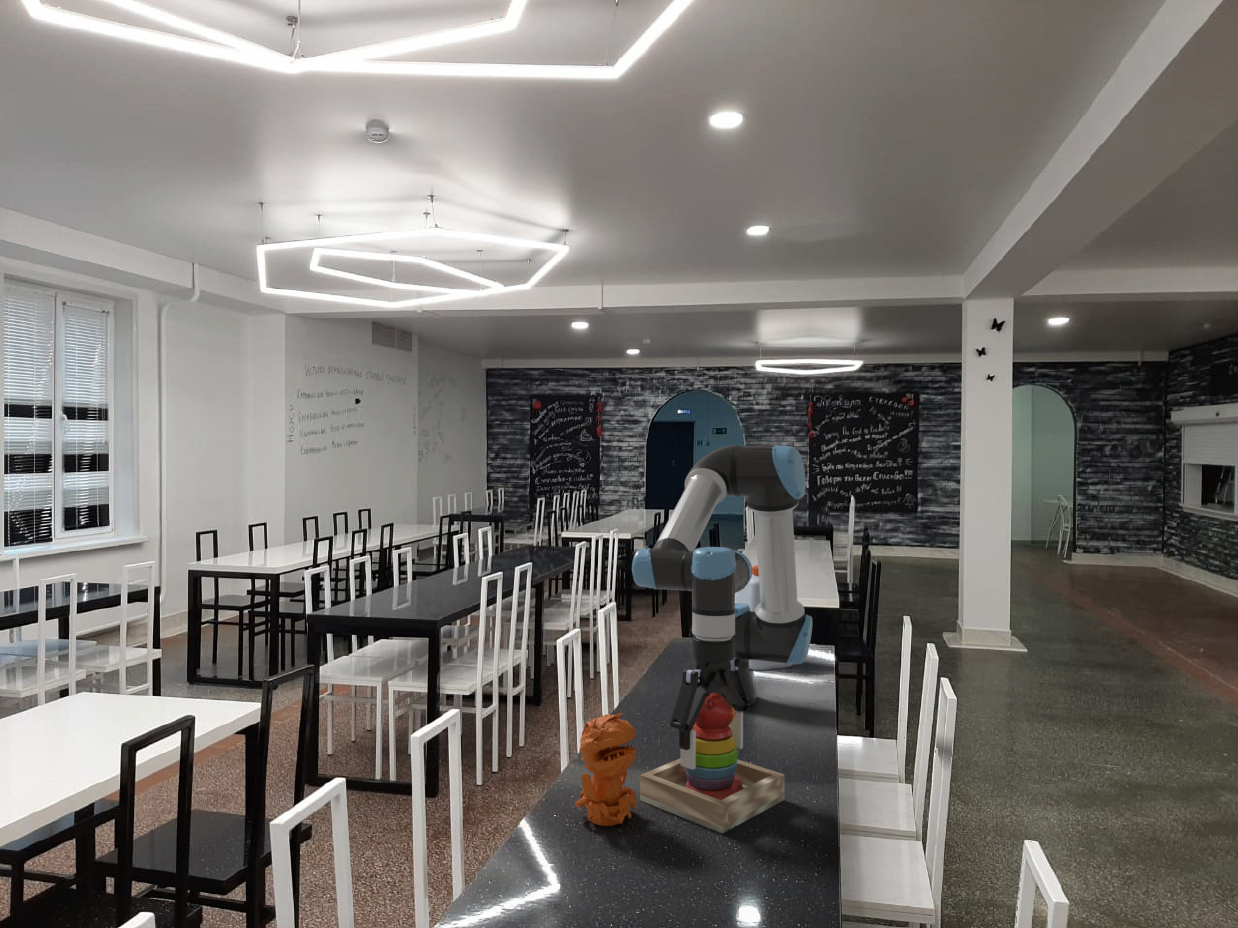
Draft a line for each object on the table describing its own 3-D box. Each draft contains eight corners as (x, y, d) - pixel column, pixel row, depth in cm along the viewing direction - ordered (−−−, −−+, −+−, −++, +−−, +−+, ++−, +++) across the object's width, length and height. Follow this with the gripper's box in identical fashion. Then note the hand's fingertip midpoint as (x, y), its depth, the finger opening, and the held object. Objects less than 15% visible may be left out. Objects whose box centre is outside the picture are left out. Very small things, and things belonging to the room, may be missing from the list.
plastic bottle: (753, 672, 230) (754, 571, 229) (725, 659, 244) (726, 564, 243) (799, 667, 236) (800, 568, 235) (769, 655, 250) (770, 561, 249)
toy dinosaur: (617, 839, 132) (618, 726, 131) (561, 823, 138) (562, 714, 137) (652, 813, 141) (653, 708, 141) (599, 799, 147) (599, 697, 147)
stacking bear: (739, 809, 141) (740, 704, 140) (680, 804, 143) (680, 700, 142) (743, 784, 151) (743, 686, 151) (687, 779, 153) (687, 683, 153)
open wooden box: (703, 771, 159) (703, 748, 159) (784, 799, 147) (784, 774, 147) (640, 800, 147) (640, 774, 146) (722, 833, 134) (722, 805, 134)
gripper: (738, 622, 158) (737, 733, 158) (649, 644, 140) (649, 770, 140) (771, 628, 153) (770, 743, 153) (684, 652, 135) (683, 782, 135)
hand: (712, 756), depth 147 cm, fingers open, 13 cm apart
